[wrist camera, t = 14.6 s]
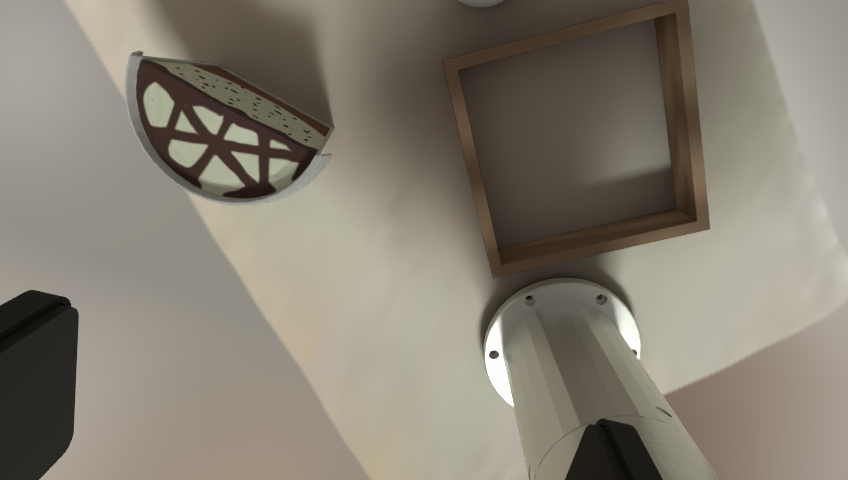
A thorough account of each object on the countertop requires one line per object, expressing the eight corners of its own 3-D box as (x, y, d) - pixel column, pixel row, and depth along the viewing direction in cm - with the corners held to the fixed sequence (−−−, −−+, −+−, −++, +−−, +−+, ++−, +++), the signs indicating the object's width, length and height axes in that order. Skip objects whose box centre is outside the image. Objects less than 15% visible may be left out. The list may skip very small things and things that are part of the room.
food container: (168, 129, 40) (85, 149, 31) (198, 53, 39) (120, 49, 29) (317, 207, 42) (280, 249, 33) (352, 137, 40) (325, 160, 31)
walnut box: (688, 215, 41) (710, 229, 38) (488, 261, 43) (492, 277, 40) (664, 1, 37) (687, -5, 34) (442, 60, 38) (442, 60, 35)
